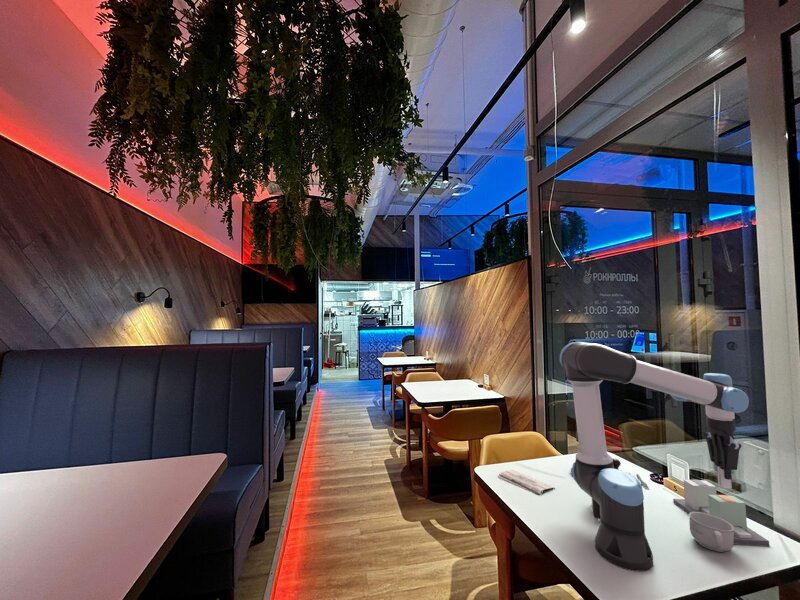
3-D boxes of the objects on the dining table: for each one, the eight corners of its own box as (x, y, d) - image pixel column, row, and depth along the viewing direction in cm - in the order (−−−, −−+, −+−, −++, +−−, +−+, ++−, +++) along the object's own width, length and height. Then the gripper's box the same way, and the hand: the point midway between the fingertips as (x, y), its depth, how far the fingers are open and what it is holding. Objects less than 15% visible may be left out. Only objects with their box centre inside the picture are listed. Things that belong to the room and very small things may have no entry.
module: (721, 529, 117) (719, 501, 118) (709, 521, 122) (708, 494, 123) (747, 530, 116) (745, 502, 117) (734, 522, 121) (732, 495, 122)
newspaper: (496, 478, 161) (496, 472, 161) (513, 475, 167) (514, 469, 168) (538, 498, 142) (538, 491, 142) (556, 493, 148) (556, 487, 148)
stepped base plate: (728, 543, 112) (726, 509, 112) (673, 502, 137) (671, 475, 138) (769, 545, 110) (766, 511, 111) (705, 504, 136) (704, 476, 137)
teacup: (690, 531, 118) (688, 507, 119) (733, 544, 111) (732, 518, 112) (690, 552, 107) (689, 525, 108) (739, 567, 100) (737, 539, 101)
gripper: (749, 423, 115) (754, 497, 113) (716, 413, 128) (720, 478, 126) (724, 423, 115) (729, 496, 114) (694, 412, 129) (698, 477, 127)
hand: (724, 486), depth 120 cm, fingers closed
